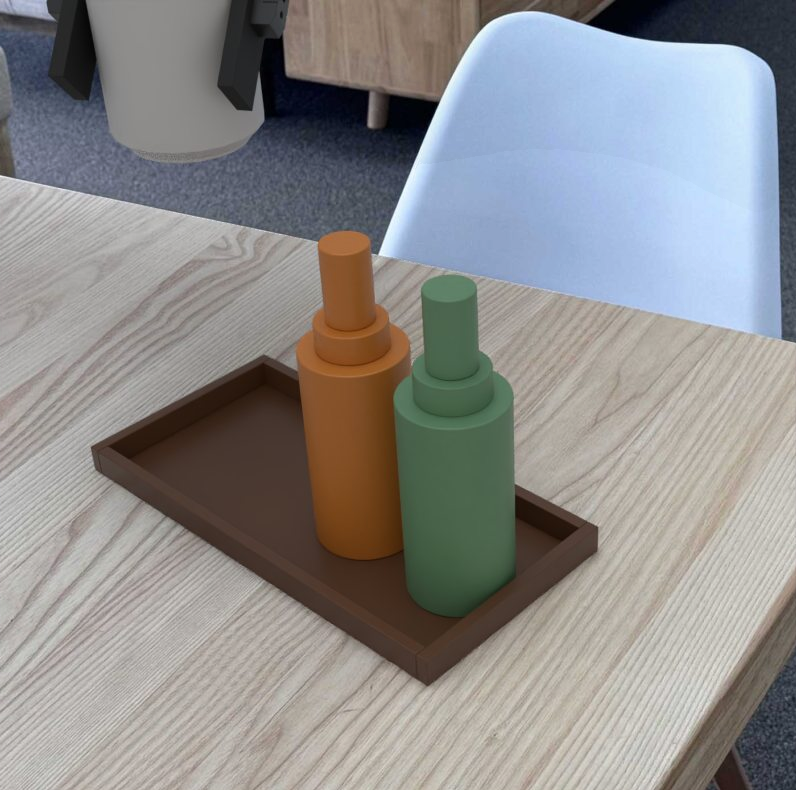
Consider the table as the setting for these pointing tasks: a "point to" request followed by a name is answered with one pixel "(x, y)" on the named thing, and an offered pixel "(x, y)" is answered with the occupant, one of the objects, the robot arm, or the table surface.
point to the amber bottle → (352, 405)
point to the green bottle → (455, 459)
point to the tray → (295, 522)
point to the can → (168, 78)
